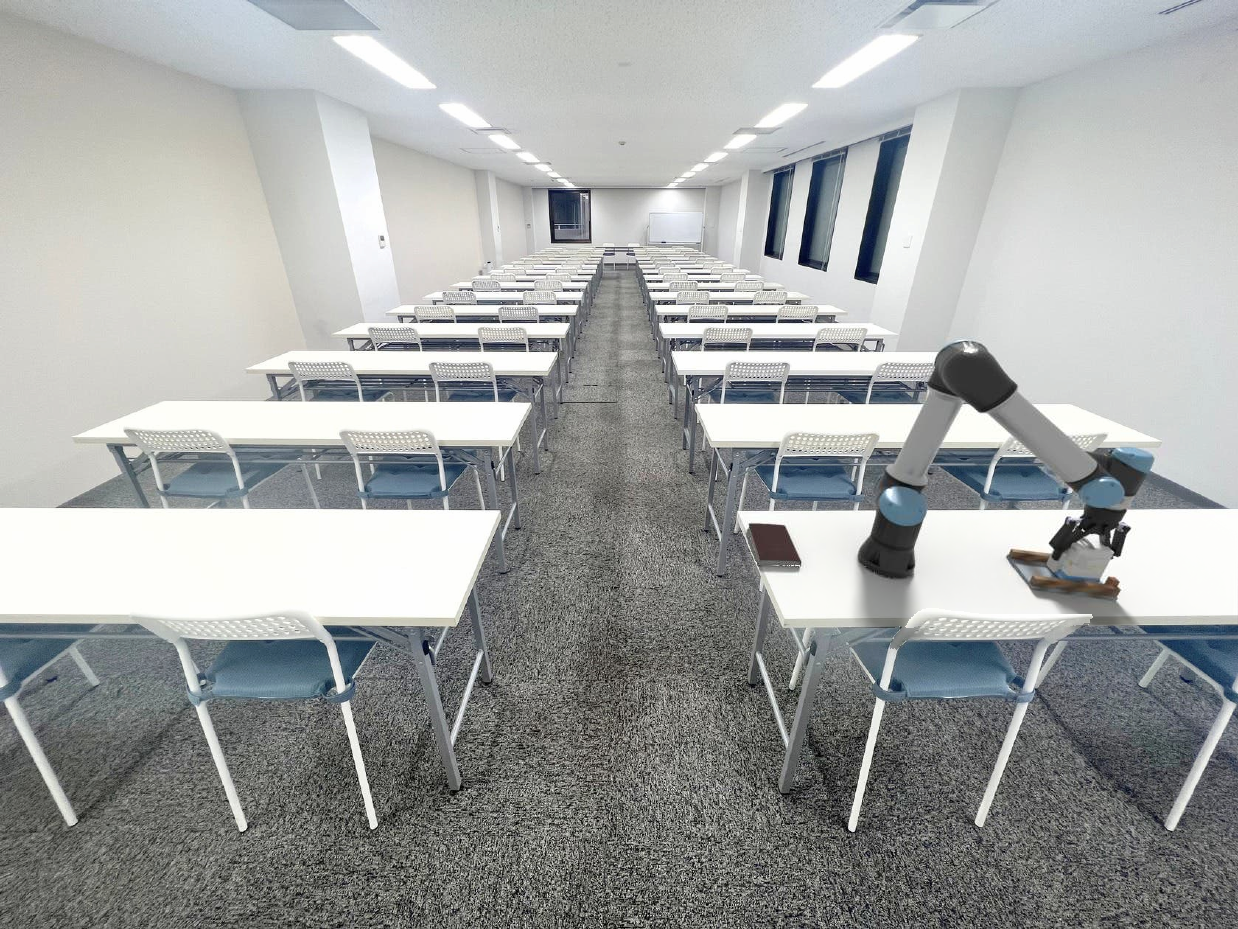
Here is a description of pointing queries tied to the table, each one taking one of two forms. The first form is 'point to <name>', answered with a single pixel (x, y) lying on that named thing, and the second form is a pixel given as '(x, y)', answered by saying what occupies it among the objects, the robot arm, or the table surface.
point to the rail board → (1046, 580)
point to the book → (773, 545)
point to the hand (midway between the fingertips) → (1072, 571)
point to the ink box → (1084, 560)
